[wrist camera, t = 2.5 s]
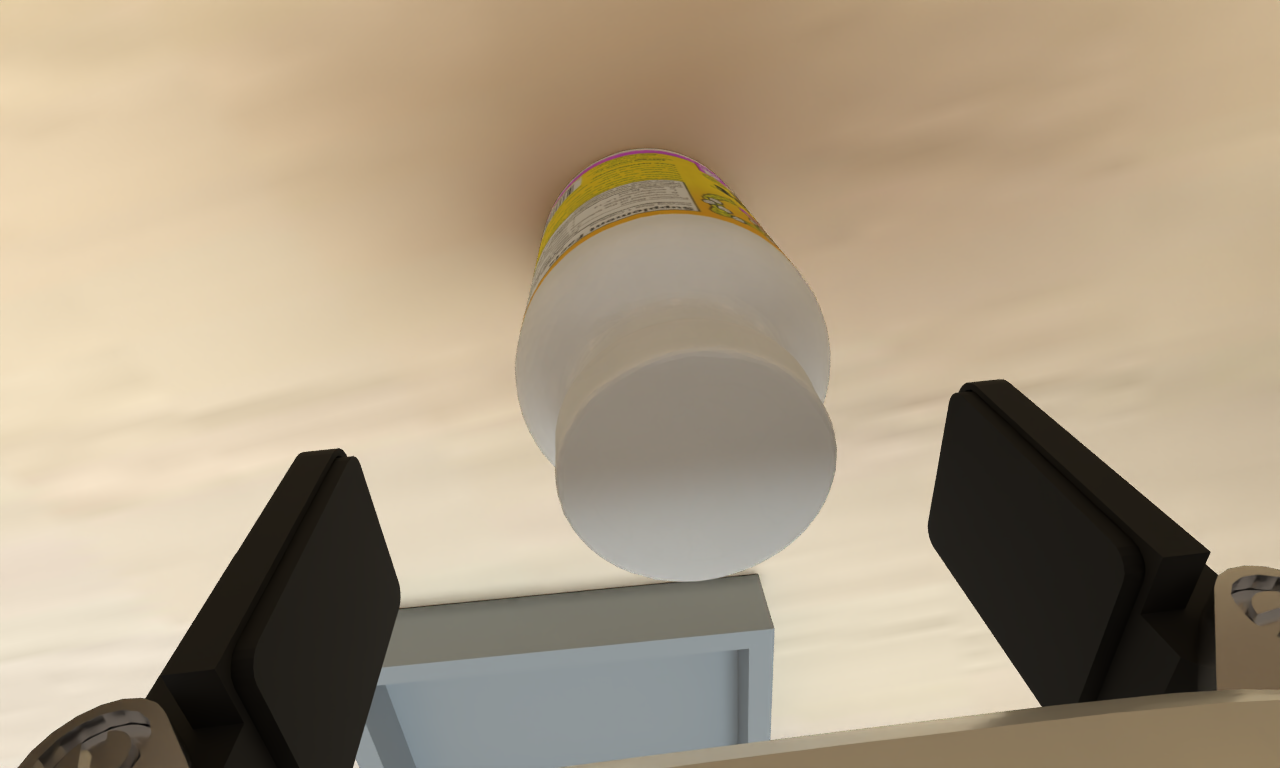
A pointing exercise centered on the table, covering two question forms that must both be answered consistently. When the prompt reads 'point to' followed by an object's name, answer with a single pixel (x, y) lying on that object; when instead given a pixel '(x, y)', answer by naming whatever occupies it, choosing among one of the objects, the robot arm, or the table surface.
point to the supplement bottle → (674, 372)
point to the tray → (574, 677)
